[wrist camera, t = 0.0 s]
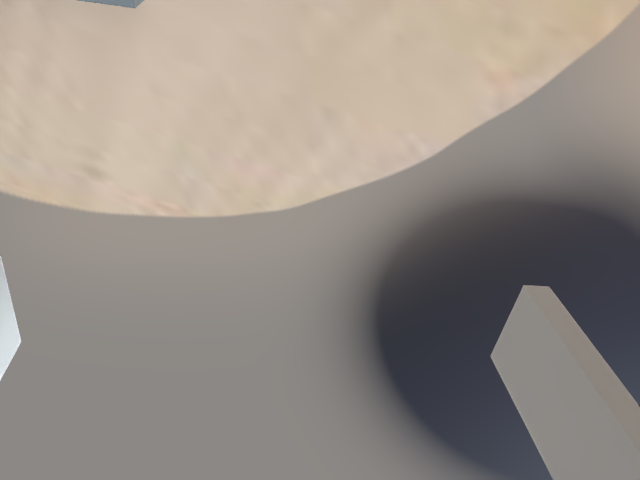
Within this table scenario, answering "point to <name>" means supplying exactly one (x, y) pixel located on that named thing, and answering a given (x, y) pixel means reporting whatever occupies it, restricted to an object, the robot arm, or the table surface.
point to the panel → (118, 2)
